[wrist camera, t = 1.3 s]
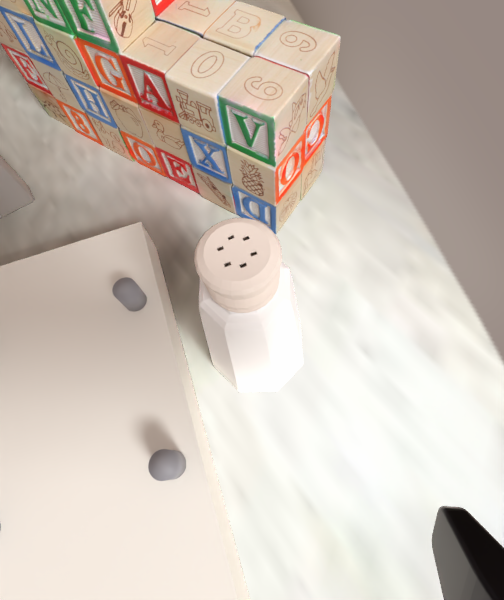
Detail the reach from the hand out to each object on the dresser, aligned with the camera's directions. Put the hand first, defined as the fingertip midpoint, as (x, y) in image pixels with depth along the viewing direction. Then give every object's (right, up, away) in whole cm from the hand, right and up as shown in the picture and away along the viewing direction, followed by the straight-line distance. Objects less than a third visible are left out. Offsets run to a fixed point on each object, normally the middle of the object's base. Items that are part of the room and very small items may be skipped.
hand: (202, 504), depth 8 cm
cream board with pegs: (-7, -4, +13) cm, 15 cm away
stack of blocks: (-5, +16, +21) cm, 27 cm away
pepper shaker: (+1, +1, +15) cm, 15 cm away
